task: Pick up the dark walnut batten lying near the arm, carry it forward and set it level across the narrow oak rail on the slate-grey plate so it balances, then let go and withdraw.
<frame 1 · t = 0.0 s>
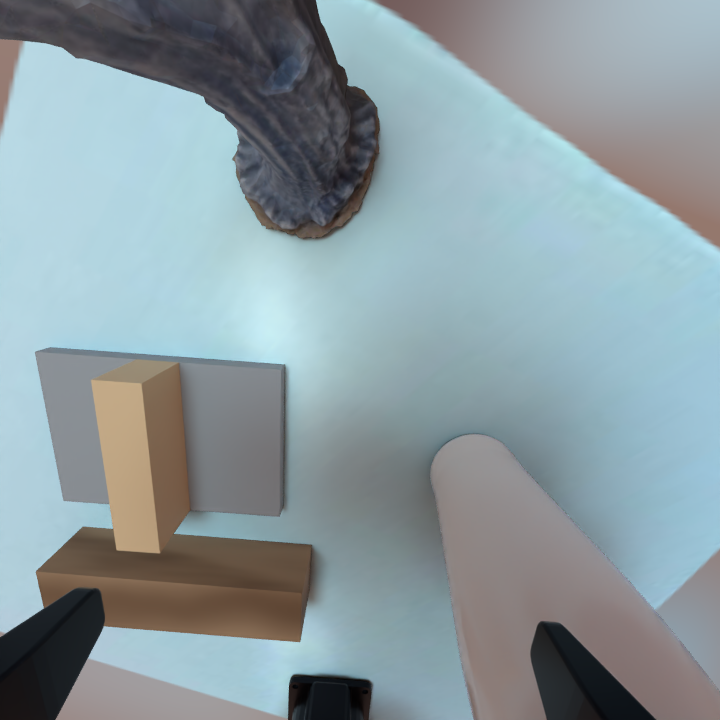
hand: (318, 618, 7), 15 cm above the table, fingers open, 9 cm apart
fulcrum: (173, 431, 23), on the table
antler: (308, 116, 18), on the table
batten: (200, 555, 26), on the table
drinking glass: (469, 465, 23), on the table
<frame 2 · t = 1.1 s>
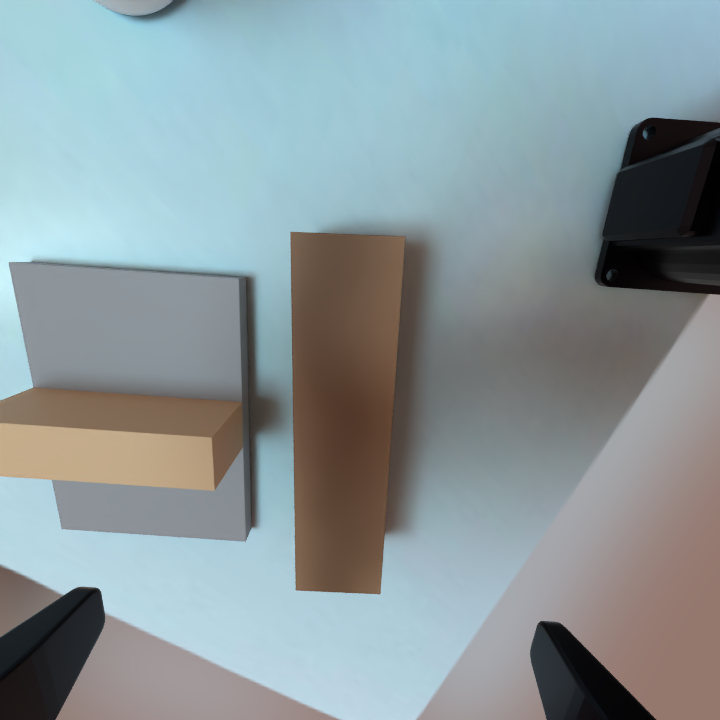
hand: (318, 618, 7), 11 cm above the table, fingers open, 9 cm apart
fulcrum: (152, 409, 18), on the table
batten: (347, 402, 18), on the table
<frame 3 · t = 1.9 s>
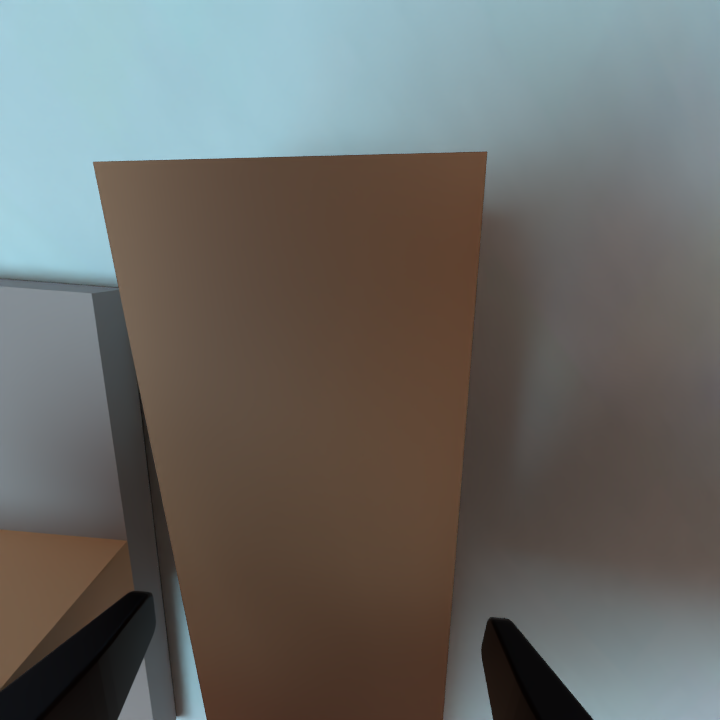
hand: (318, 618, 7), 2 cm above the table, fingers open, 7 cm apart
batten: (342, 524, 10), on the table
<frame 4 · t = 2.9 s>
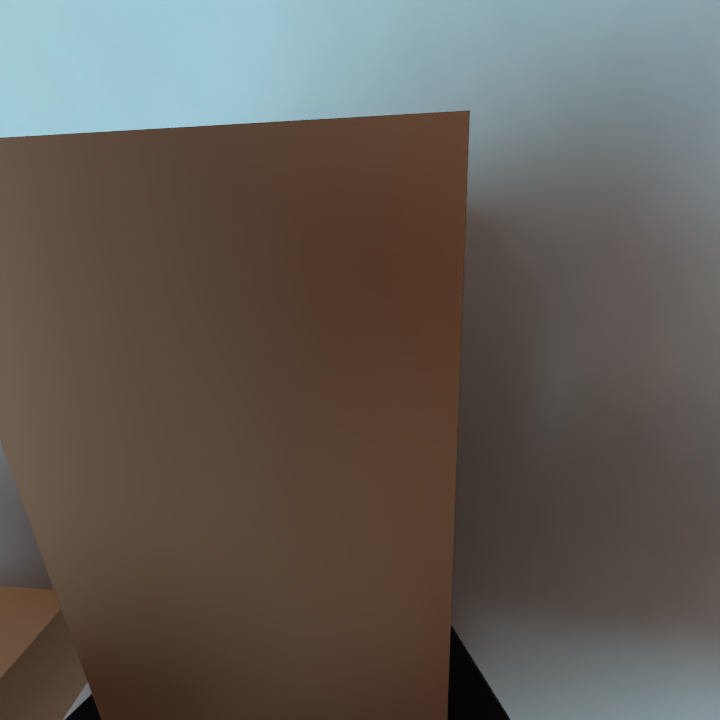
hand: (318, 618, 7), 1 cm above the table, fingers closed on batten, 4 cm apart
batten: (324, 568, 8), on the table, touching gripper
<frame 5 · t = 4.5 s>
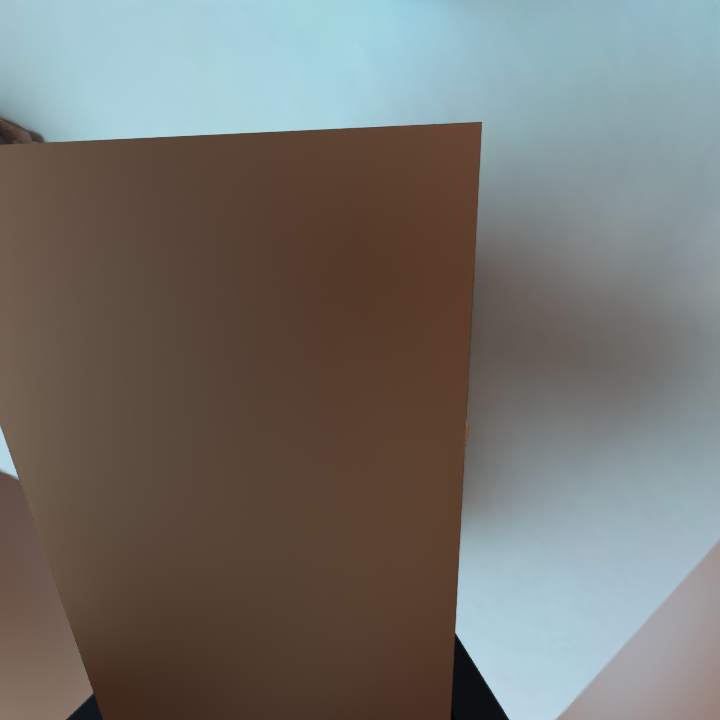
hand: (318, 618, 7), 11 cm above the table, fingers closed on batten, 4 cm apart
batten: (325, 570, 9), point 10 cm above the table, touching gripper
when the fingers open (6 cm above the table, at t = 5.8 s): batten stays where it is, resting on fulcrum.
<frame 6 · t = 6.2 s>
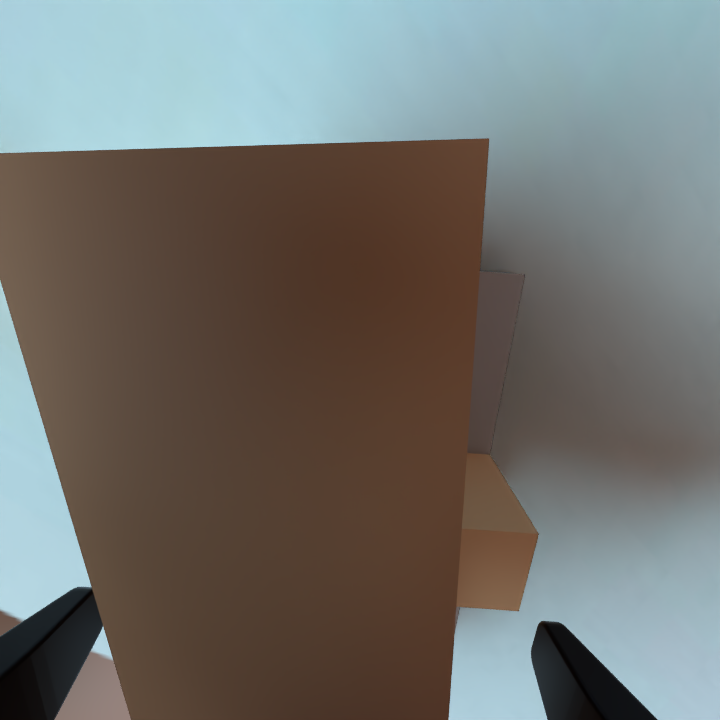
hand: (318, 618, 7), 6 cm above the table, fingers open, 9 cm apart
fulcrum: (339, 459, 13), on the table
batten: (327, 561, 9), point 4 cm above the table, touching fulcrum
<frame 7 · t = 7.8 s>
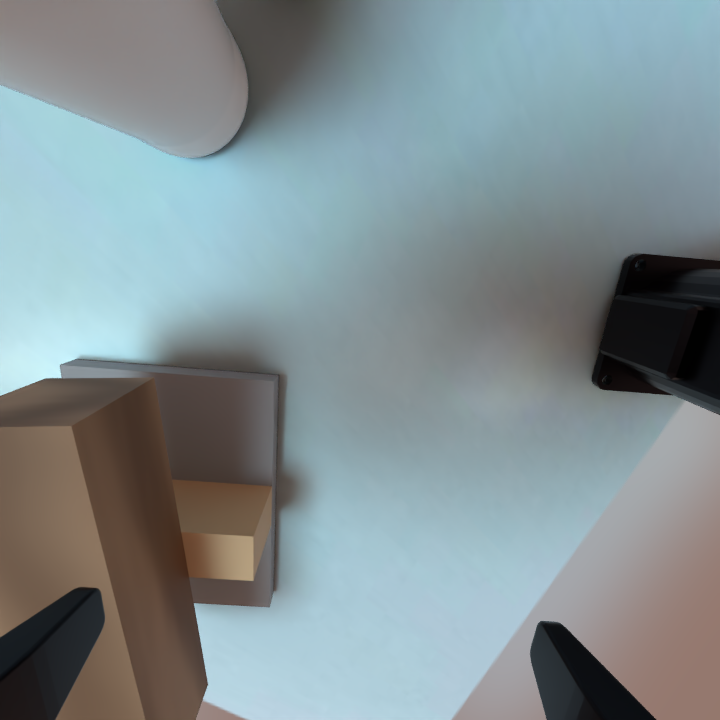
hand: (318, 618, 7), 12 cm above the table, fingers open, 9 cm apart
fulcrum: (185, 487, 20), on the table
batten: (138, 553, 15), point 4 cm above the table, touching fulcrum
drinking glass: (189, 91, 15), on the table
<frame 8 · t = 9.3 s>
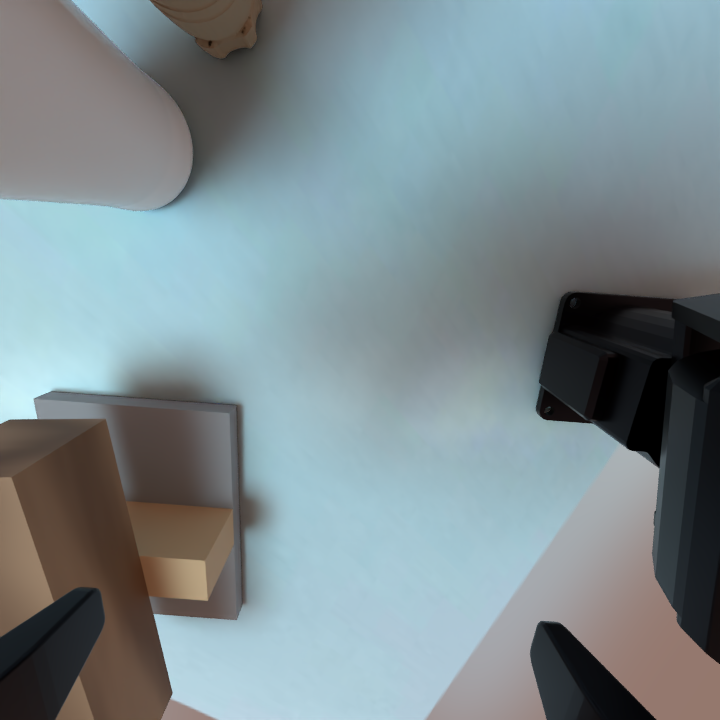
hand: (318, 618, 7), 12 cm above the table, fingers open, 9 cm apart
handle: (227, 18, 15), on the table
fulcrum: (155, 508, 21), on the table
batten: (101, 574, 17), point 4 cm above the table, touching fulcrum
drinking glass: (141, 149, 16), on the table
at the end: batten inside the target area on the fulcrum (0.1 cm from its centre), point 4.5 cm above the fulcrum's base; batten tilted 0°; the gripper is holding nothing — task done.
